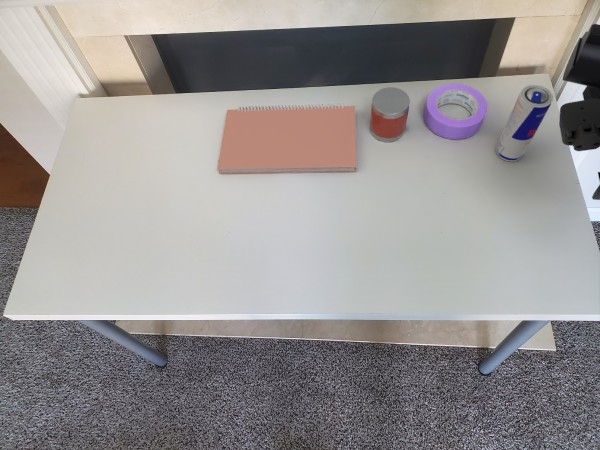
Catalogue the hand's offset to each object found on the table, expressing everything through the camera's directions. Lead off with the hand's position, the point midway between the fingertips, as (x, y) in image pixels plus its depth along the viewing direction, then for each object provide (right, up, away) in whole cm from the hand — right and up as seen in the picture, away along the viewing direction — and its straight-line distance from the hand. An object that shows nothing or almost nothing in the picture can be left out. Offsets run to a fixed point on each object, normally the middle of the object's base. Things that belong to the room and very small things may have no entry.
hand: (590, 173), depth 67 cm
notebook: (-46, +10, +25) cm, 53 cm away
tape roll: (-12, +14, +24) cm, 31 cm away
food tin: (-26, +12, +24) cm, 37 cm away
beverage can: (-4, +6, +19) cm, 20 cm away
